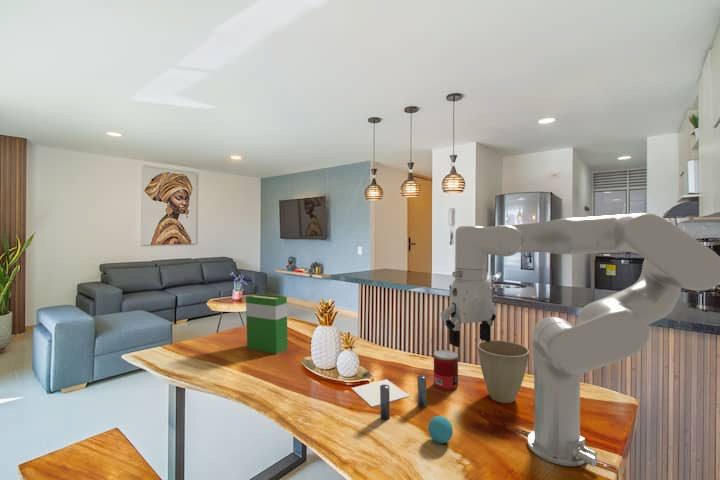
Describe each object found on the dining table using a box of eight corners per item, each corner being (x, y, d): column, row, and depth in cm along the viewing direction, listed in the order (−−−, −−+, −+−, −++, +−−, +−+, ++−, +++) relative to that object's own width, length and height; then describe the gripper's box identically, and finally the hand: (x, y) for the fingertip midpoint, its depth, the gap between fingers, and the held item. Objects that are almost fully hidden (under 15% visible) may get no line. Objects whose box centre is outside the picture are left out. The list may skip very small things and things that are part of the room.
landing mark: (409, 396, 111) (409, 395, 111) (371, 407, 104) (371, 406, 104) (386, 379, 123) (386, 379, 123) (351, 388, 117) (351, 388, 117)
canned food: (459, 392, 113) (458, 358, 113) (434, 390, 115) (433, 357, 114) (457, 381, 121) (457, 350, 120) (433, 380, 122) (433, 349, 122)
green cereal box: (247, 348, 159) (245, 296, 158) (258, 343, 166) (257, 293, 165) (276, 354, 151) (275, 299, 150) (287, 348, 157) (286, 296, 157)
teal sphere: (458, 443, 86) (457, 420, 86) (439, 451, 83) (439, 426, 83) (441, 431, 91) (441, 409, 91) (423, 438, 88) (423, 415, 88)
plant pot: (503, 414, 99) (503, 359, 99) (467, 392, 113) (467, 343, 112) (540, 403, 105) (540, 351, 105) (502, 383, 119) (502, 337, 118)
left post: (391, 418, 98) (391, 387, 98) (383, 421, 97) (383, 389, 96) (386, 414, 100) (386, 383, 100) (378, 416, 99) (378, 385, 99)
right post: (428, 407, 104) (428, 377, 104) (421, 409, 103) (421, 379, 102) (422, 403, 106) (422, 374, 106) (416, 405, 105) (415, 376, 105)
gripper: (452, 279, 80) (451, 352, 80) (508, 275, 86) (507, 342, 87) (432, 275, 87) (432, 342, 87) (486, 271, 93) (485, 334, 94)
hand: (469, 342), depth 87 cm, fingers open, 9 cm apart
